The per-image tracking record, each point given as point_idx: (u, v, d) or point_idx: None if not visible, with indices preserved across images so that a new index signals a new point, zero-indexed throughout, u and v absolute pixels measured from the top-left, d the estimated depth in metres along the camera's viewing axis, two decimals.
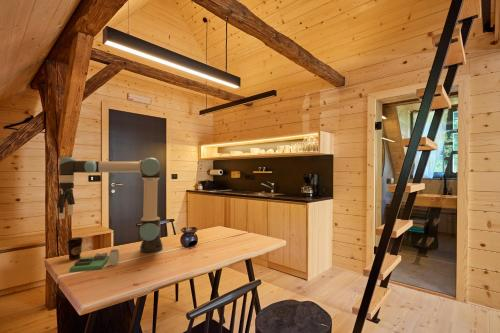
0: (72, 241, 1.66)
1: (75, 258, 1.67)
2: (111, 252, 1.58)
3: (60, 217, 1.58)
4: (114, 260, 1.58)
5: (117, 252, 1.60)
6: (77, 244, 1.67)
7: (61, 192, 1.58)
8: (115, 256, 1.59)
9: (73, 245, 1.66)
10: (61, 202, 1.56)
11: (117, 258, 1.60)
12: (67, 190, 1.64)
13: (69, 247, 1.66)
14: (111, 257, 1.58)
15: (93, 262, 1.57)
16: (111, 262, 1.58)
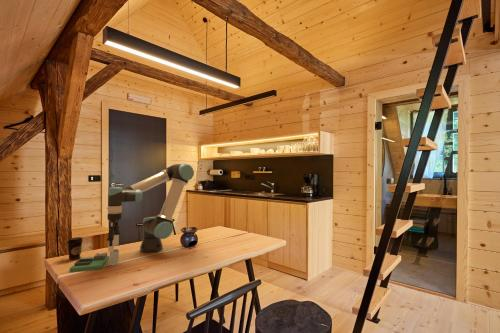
0: (72, 241, 1.66)
1: (75, 258, 1.67)
2: (111, 252, 1.58)
3: (109, 250, 1.53)
4: (114, 260, 1.58)
5: (117, 252, 1.60)
6: (77, 244, 1.67)
7: (111, 224, 1.54)
8: (115, 256, 1.59)
9: (73, 245, 1.66)
10: (111, 235, 1.52)
11: (117, 258, 1.60)
12: (115, 221, 1.59)
13: (69, 247, 1.66)
14: (111, 257, 1.58)
15: (93, 262, 1.57)
16: (111, 262, 1.58)
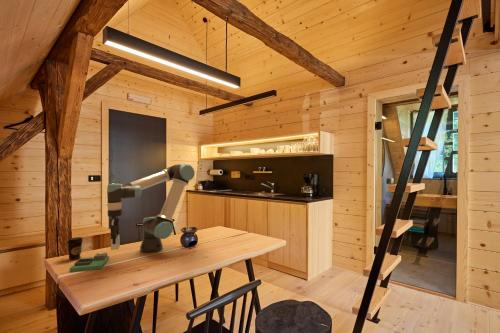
0: (72, 241, 1.66)
1: (75, 258, 1.67)
2: None
3: (113, 248, 1.58)
4: None
5: (118, 237, 1.60)
6: (77, 244, 1.67)
7: (112, 224, 1.54)
8: None
9: (73, 245, 1.66)
10: (114, 234, 1.55)
11: (118, 242, 1.60)
12: (116, 217, 1.59)
13: (69, 247, 1.66)
14: None
15: (93, 262, 1.57)
16: None
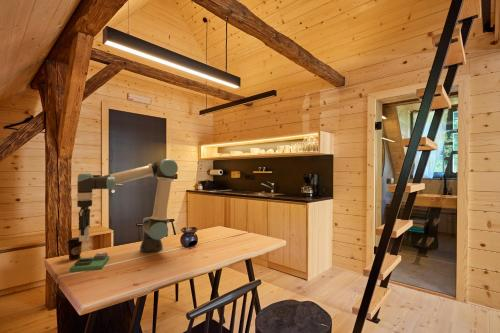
0: (72, 241, 1.66)
1: (75, 258, 1.67)
2: None
3: (81, 239, 1.53)
4: None
5: (87, 228, 1.55)
6: (77, 244, 1.67)
7: (80, 214, 1.50)
8: None
9: (73, 245, 1.66)
10: (82, 225, 1.51)
11: (87, 234, 1.55)
12: (85, 207, 1.55)
13: (69, 247, 1.66)
14: None
15: (93, 262, 1.57)
16: None
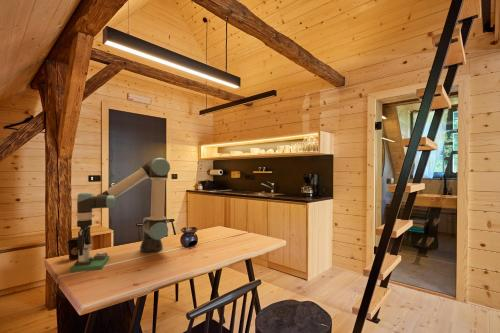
0: (72, 241, 1.66)
1: (75, 258, 1.67)
2: None
3: (80, 259, 1.51)
4: None
5: (87, 251, 1.55)
6: None
7: (80, 233, 1.50)
8: (84, 255, 1.54)
9: (73, 245, 1.66)
10: (81, 244, 1.49)
11: (87, 257, 1.55)
12: (85, 228, 1.55)
13: (69, 247, 1.66)
14: None
15: (93, 262, 1.57)
16: (80, 261, 1.54)
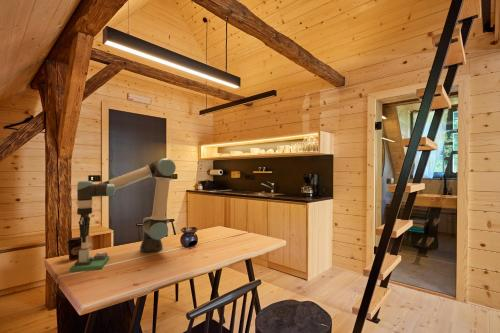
0: (72, 241, 1.66)
1: (75, 258, 1.67)
2: (80, 251, 1.54)
3: (83, 246, 1.55)
4: (83, 259, 1.54)
5: (87, 251, 1.55)
6: (77, 244, 1.67)
7: (80, 223, 1.50)
8: (84, 255, 1.54)
9: (73, 245, 1.66)
10: (83, 232, 1.52)
11: (87, 257, 1.55)
12: (85, 215, 1.54)
13: (69, 247, 1.66)
14: (80, 256, 1.54)
15: (93, 262, 1.57)
16: (80, 261, 1.54)
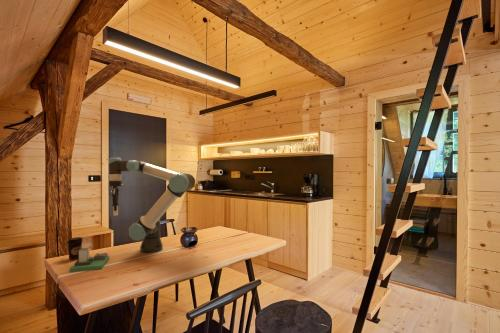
0: (72, 241, 1.66)
1: (75, 258, 1.67)
2: (80, 251, 1.54)
3: (114, 214, 1.79)
4: (83, 259, 1.54)
5: (87, 251, 1.55)
6: (77, 244, 1.67)
7: (113, 193, 1.75)
8: (84, 255, 1.54)
9: (73, 245, 1.66)
10: (115, 201, 1.77)
11: (87, 257, 1.55)
12: (116, 186, 1.79)
13: (69, 247, 1.66)
14: (80, 256, 1.54)
15: (93, 262, 1.57)
16: (80, 261, 1.54)
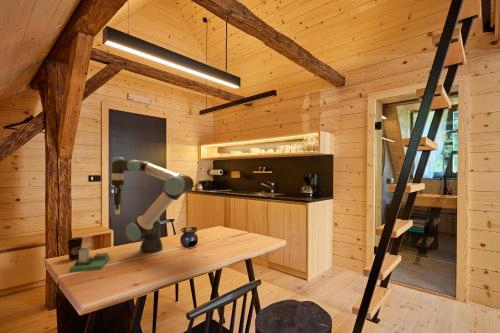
0: (72, 241, 1.66)
1: (75, 258, 1.67)
2: (80, 251, 1.54)
3: (116, 213, 1.82)
4: (83, 259, 1.54)
5: (87, 251, 1.55)
6: (77, 244, 1.67)
7: (115, 192, 1.77)
8: (84, 255, 1.54)
9: (73, 245, 1.66)
10: (117, 200, 1.79)
11: (87, 257, 1.55)
12: (118, 186, 1.81)
13: (69, 247, 1.66)
14: (80, 256, 1.54)
15: (93, 262, 1.57)
16: (80, 261, 1.54)
